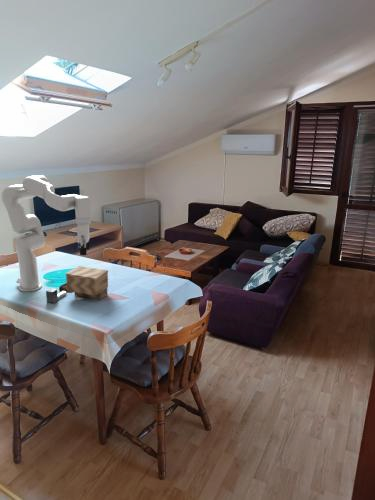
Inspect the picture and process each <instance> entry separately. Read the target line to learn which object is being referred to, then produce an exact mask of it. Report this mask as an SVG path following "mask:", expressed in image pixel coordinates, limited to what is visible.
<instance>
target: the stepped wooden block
mask: <svg viewBox="0 0 375 500" xmlns="http://www.w3.org/2000/svg"><path fill="white" fill-rule="evenodd" d="M108 275H109V270H108V269H107V270H106V269H101V268H94V267H89V266H81V265H79V266H77V267H75V268H73V269H70V270H69V271H68V272H65V278H66V279H65V280H66V281H65V282H66V283H67V291H73V292H72V293H74V295H75V296H76V295H84V298H90V299H96V300H103V299H104V298H105V297H106V296H108V288H109V276H108Z"/></svg>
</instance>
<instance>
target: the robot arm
mask: <svg viewBox="0 0 375 500" xmlns="http://www.w3.org/2000/svg"><path fill="white" fill-rule="evenodd" d="M55 191H56V190H55V187H54V186H53V184H50V181H49V179H48V178H47V177H46V176H45V175H42V174H41V175H31V176H26V177H25V178H24V179H22V183H21V184H12V185H9V186H6V187H4V189H3V190H2V192H1V200H2V201H1V202H2V203H3V206H5V210H6V212H7V215H8V218H9V220H10V224H11V228H12V230H13V232H14V233H16V234H18V235H21V234H24V235H22V236H19V237H17V238H16V239H15V241H14V247H15V251H16V253H17V259H18V267H19V268H18V269H19V275H20V277H19V278H17V280H16V281H15V282H16V284H19V286H18V290H19V291H21V292H27V293H28V292H29V293H30V292H34V291H37V290H40V289H41V288H42V287H43V285H42V283H41V282H40V281H39V271H38V262H37V261H38V260H37V256H36V255H35V253H34V252H33V251H35V250H37V249H41V248H43V247H44V246H45V244H46V238H45V234H44V230H43V226H42V224H41V221H40V219H39V218H38V217H37V216H36V215H35V214H31V213H29V214H26V212H25V209H24V207H23V205H22V204H21V203H20V201H24V200H29V199H32V198H35V197H39V198H41V199H43V200H44V202H45V204H47V206H49V207H50V208H51V209H52V208H53V209H54V210H56V211H59V212H66V211H67V212H68V211H70V210H74V211H75V225H77V229H76V230H77V232H76V233H77V235H76V236H77V237H76V239H77V242H76V243H77V244H79V256H87V255H88V254H87V250H90V224H92V216H91V215H92V213H91V212H92V211H91V198H90V197H89V196H86V195H79V194H75V193H73V194H66V195H58V194H56V193H55ZM25 233H26V234H25ZM27 233H29V234H27Z"/></svg>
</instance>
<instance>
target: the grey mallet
mask: <svg viewBox="0 0 375 500" xmlns="http://www.w3.org/2000/svg"><path fill="white" fill-rule="evenodd" d="M66 295H67V292H66V291H62V292H61V291H59V293H58V289H57V288H48V289H47V290H46V291H45V297H46V303H47V304H49V303H50V305H54V304H56V303H57V301H59V300H60V299H62V298H64V297H65V296H66Z"/></svg>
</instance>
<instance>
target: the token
mask: <svg viewBox="0 0 375 500" xmlns="http://www.w3.org/2000/svg"><path fill="white" fill-rule="evenodd" d="M74 300H75V301H78V302H79V301H84V300H85V297H84V295H75V296H74Z"/></svg>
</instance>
